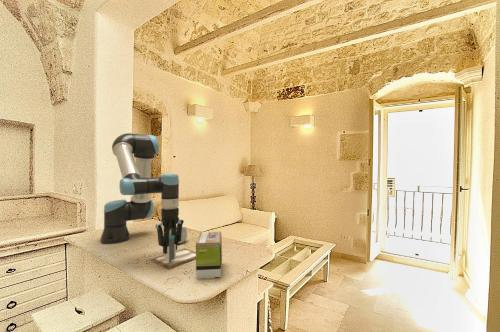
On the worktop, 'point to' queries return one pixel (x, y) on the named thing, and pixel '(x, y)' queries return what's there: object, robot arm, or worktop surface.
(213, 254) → the tea box
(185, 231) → the teacup
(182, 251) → the clipboard
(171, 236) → the marker
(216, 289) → the worktop surface
